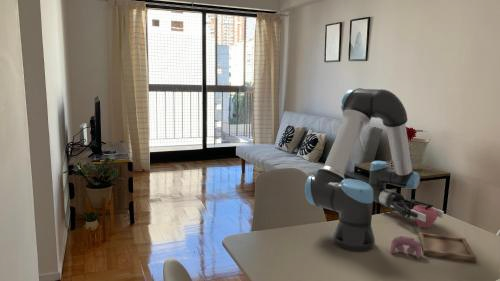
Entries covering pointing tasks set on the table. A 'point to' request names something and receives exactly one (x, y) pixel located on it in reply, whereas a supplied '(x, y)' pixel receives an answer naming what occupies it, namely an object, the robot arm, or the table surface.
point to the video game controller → (408, 241)
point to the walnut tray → (446, 247)
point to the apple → (430, 215)
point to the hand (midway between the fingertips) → (434, 216)
